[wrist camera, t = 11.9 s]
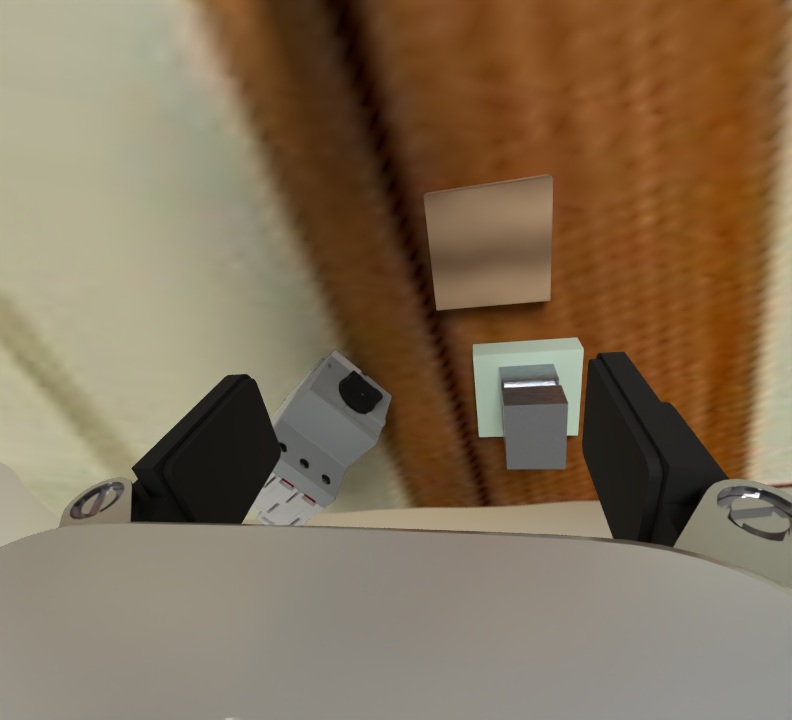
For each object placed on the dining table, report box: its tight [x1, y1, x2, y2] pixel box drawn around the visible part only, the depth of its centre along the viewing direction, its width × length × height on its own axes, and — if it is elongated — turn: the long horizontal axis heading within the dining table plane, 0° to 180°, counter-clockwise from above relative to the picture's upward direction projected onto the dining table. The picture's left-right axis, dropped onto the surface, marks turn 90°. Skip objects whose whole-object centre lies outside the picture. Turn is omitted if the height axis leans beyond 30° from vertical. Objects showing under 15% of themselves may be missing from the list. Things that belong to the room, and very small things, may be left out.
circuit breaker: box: [248, 349, 392, 526], centre depth 39 cm, size 8×14×15 cm, turn 139°
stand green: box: [473, 337, 584, 437], centre depth 41 cm, size 10×10×2 cm
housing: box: [499, 364, 568, 469], centre depth 37 cm, size 7×5×7 cm
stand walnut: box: [423, 174, 553, 310], centre depth 35 cm, size 10×10×2 cm
